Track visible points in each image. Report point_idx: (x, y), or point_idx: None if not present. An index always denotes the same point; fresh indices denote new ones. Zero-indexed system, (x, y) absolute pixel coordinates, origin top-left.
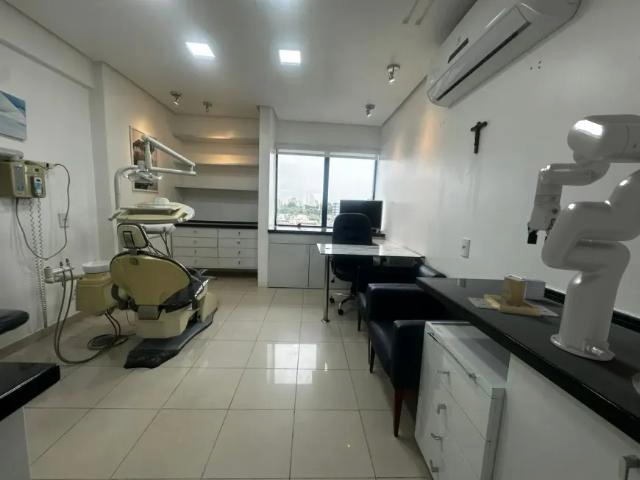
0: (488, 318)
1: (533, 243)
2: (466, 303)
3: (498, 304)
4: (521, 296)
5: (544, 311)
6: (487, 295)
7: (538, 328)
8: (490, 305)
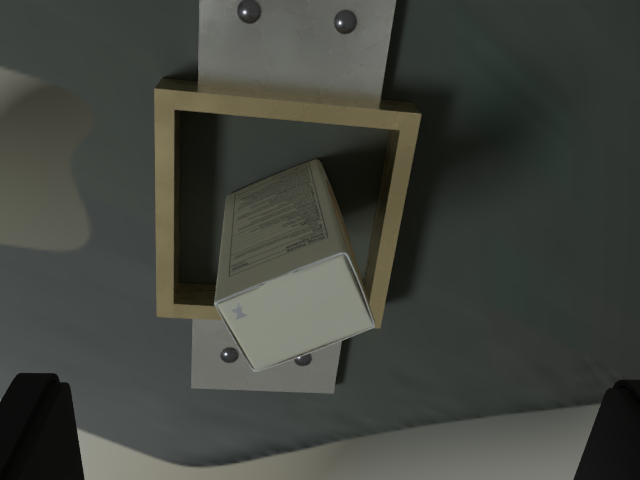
0: (478, 394)
1: (73, 435)
2: (281, 412)
3: None
4: (339, 217)
5: (352, 29)
6: (189, 312)
7: (580, 235)
8: None
